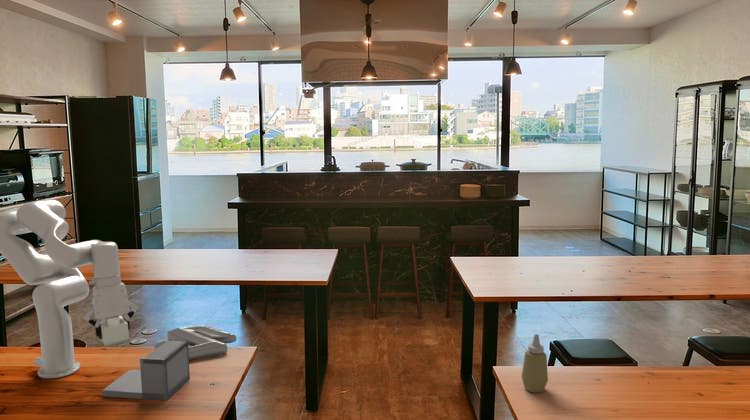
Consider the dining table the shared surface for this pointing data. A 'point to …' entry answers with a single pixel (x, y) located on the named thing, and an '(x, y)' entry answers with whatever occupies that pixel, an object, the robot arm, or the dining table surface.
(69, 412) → the dining table surface
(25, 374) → the dining table surface
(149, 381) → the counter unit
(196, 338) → the emblem
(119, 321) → the egg tray
